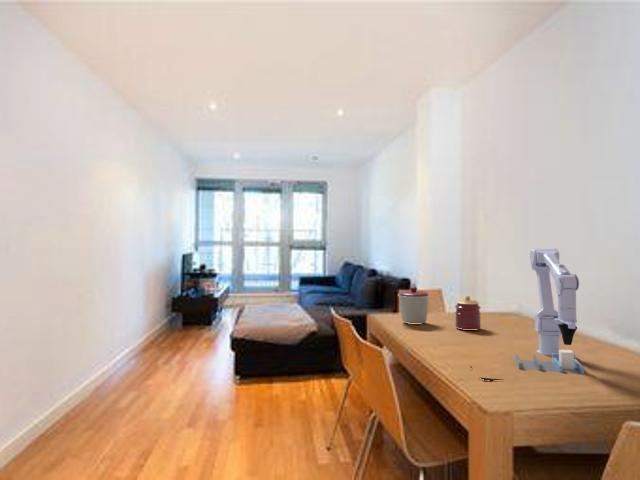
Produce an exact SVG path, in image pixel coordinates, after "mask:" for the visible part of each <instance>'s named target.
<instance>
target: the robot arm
mask: <svg viewBox="0 0 640 480" xmlns="http://www.w3.org/2000/svg"><path fill="white" fill-rule="evenodd" d="M529 254H530V255H529V257H530V258H529V259H530V267H531V270H533V271H535V273H536V279H537V287H538V295H539V303H540V310H539V311H537V312H536V313H535V315H534V321H533V322H534V323H533V324H534V329H535V331H536V333H539V336H538V349H537V350H536V352H537V353H539V354H540V355H543V356H548V357H552V353H557V354H559V350H560V336H561V338H562V343H563V344H564V346H571V345H572V343H573V339H574V335H575V333H576V331H577V330H578V327H577V325H576V324H577V322H578V320H577V291H578V290H579V288H580V287H579V286H580V281H579V277H578V275H577V274H576V273H571V272H570V271H569V269H568V268H567V267H566V265H565V264H564V263H560V252H559V249H557V248H532V249H531V251H530V253H529ZM550 275H551V276H552V278H553V279H554V286H555V290H556V295H557V310H556V309H555V306H554V297H553V292H552V291H553V290H552V283H551V277H550Z"/></svg>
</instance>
